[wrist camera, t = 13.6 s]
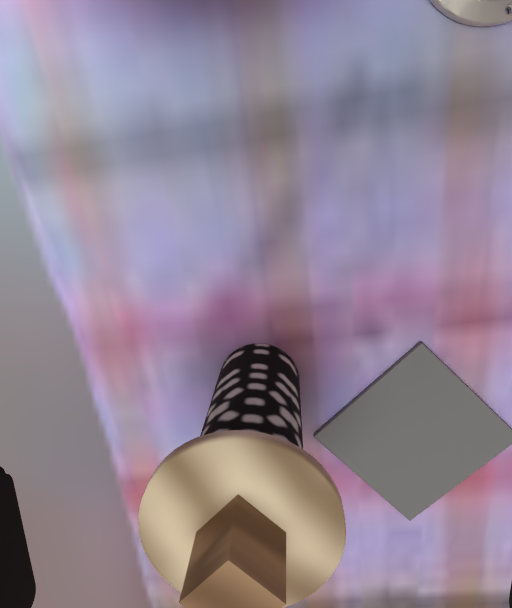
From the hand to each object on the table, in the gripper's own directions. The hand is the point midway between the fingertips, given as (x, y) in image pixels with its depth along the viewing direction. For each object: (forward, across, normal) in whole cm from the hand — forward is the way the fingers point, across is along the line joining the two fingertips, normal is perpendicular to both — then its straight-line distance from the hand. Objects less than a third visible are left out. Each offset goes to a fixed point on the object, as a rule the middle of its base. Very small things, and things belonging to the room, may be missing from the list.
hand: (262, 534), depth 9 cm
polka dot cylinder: (+38, +3, +16) cm, 42 cm away
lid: (+18, +3, +16) cm, 24 cm away
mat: (+38, -13, +22) cm, 46 cm away
